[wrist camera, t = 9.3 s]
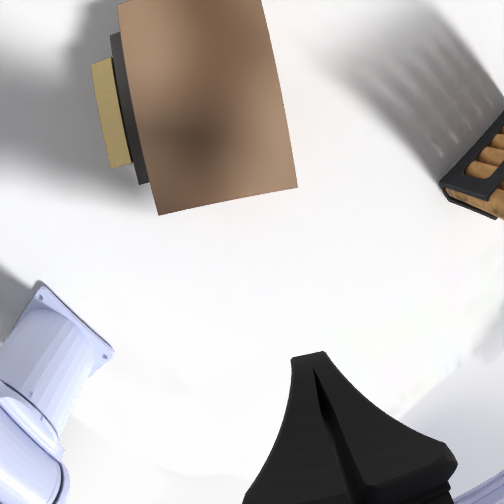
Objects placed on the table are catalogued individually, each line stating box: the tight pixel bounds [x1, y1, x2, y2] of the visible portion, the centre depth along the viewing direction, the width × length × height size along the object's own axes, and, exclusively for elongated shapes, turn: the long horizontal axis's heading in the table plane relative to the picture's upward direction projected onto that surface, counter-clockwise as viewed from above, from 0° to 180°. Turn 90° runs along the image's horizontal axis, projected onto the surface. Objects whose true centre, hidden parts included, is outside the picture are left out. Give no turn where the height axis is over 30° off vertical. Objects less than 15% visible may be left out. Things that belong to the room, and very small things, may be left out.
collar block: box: [110, 0, 298, 215], centre depth 14 cm, size 6×10×6 cm, turn 10°
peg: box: [91, 57, 133, 169], centre depth 14 cm, size 8×5×5 cm, turn 100°
